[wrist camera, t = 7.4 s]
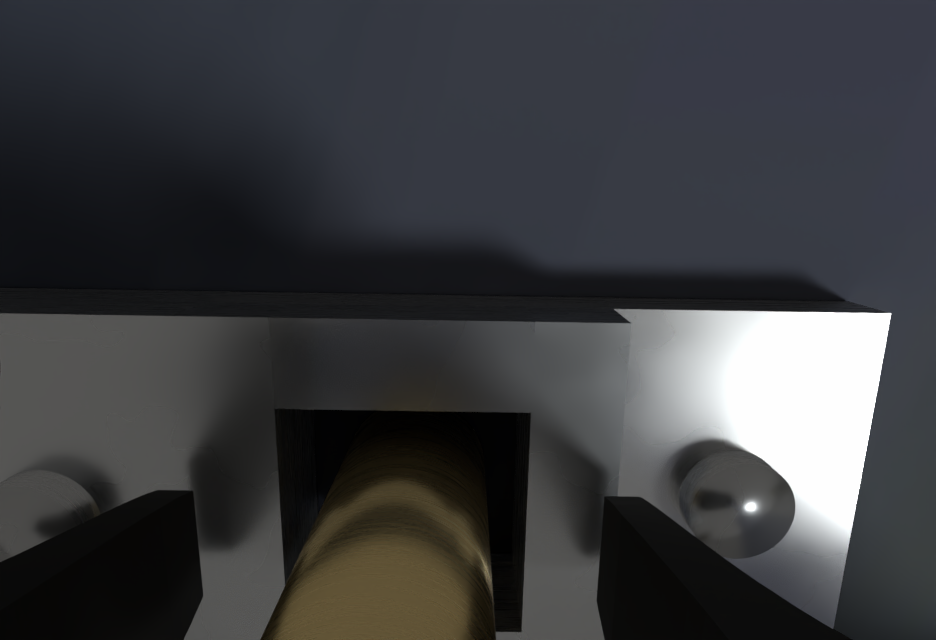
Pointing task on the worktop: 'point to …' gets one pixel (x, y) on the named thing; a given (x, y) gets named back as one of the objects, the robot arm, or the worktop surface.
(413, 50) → the worktop surface
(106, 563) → the robot arm
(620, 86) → the worktop surface
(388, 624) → the brass pin
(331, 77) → the worktop surface
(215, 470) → the notched mounting plate
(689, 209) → the worktop surface
